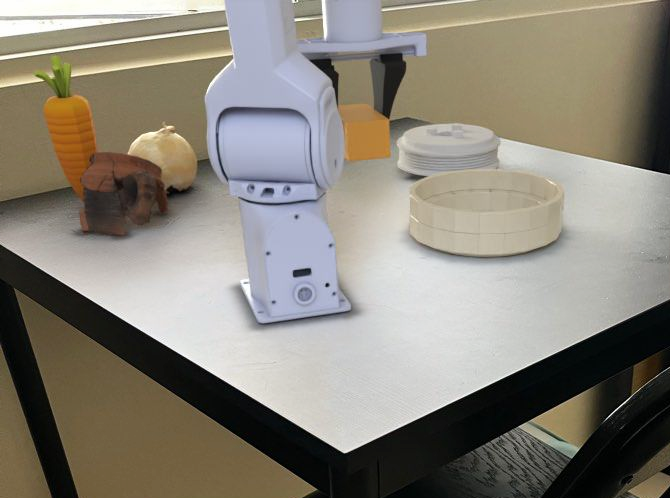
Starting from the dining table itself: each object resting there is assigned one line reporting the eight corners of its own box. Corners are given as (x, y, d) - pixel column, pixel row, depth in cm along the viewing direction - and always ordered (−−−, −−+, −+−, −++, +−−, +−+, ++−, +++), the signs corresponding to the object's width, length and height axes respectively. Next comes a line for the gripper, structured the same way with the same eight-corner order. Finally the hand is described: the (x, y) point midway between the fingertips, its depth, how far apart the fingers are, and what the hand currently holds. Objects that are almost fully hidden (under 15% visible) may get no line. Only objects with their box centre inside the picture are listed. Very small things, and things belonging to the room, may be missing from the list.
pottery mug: (59, 232, 93) (65, 152, 92) (140, 252, 100) (146, 178, 99) (113, 225, 85) (120, 137, 84) (197, 247, 92) (204, 166, 91)
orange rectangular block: (390, 157, 89) (389, 119, 86) (349, 162, 88) (346, 123, 85) (367, 139, 95) (365, 103, 93) (328, 143, 94) (325, 106, 92)
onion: (192, 199, 101) (182, 133, 96) (124, 200, 101) (111, 134, 96) (206, 180, 107) (197, 117, 103) (142, 181, 107) (130, 118, 103)
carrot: (99, 213, 97) (64, 61, 88) (59, 211, 98) (20, 61, 89) (119, 200, 101) (88, 53, 92) (80, 198, 102) (45, 53, 93)
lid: (468, 190, 101) (470, 144, 98) (377, 177, 107) (376, 133, 104) (516, 165, 110) (518, 122, 107) (429, 153, 115) (429, 112, 112)
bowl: (586, 249, 85) (591, 201, 82) (440, 269, 81) (440, 220, 78) (521, 205, 96) (524, 162, 94) (391, 221, 93) (390, 177, 90)
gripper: (410, -23, 87) (412, 124, 95) (267, -15, 84) (282, 136, 92) (433, -17, 82) (433, 138, 90) (282, -8, 78) (296, 152, 87)
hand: (358, 138), depth 91 cm, fingers closed on orange rectangular block, 4 cm apart
